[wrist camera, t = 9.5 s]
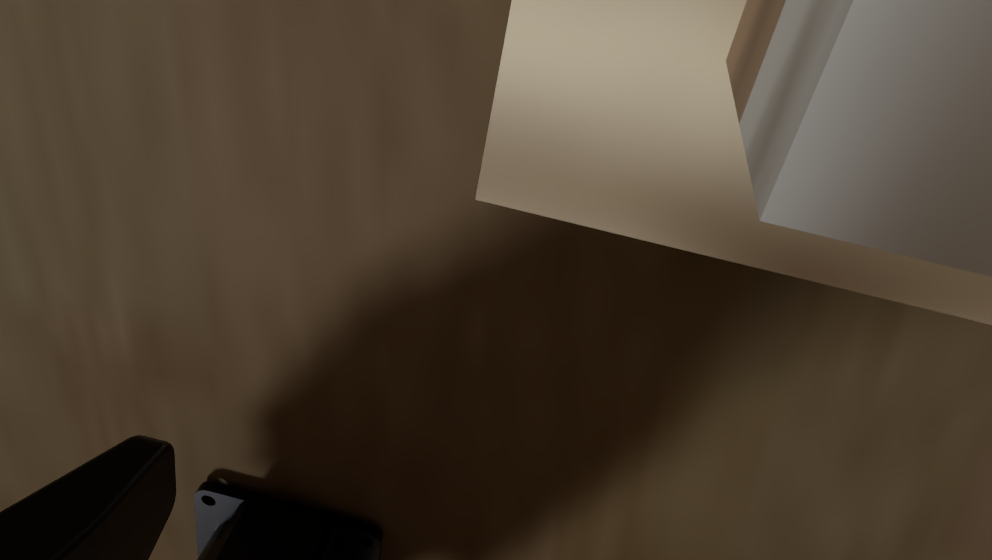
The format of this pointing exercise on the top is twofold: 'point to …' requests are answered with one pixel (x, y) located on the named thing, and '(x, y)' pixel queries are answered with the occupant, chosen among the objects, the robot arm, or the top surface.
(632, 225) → the stand
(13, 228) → the top surface
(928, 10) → the block
